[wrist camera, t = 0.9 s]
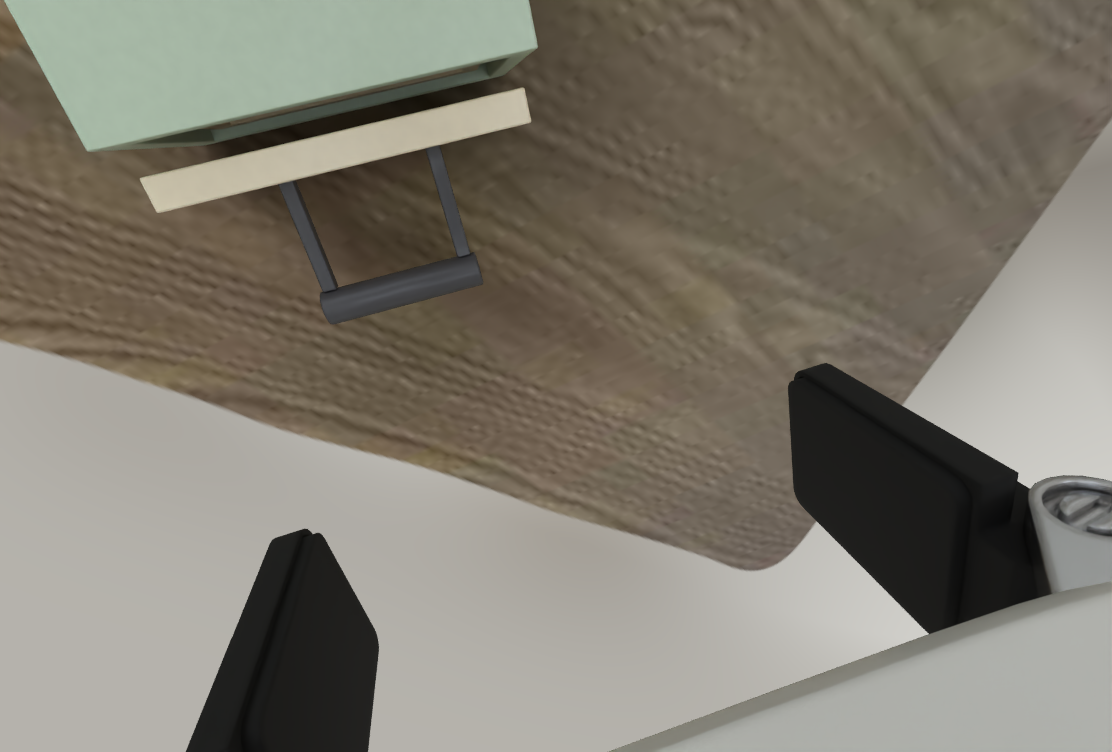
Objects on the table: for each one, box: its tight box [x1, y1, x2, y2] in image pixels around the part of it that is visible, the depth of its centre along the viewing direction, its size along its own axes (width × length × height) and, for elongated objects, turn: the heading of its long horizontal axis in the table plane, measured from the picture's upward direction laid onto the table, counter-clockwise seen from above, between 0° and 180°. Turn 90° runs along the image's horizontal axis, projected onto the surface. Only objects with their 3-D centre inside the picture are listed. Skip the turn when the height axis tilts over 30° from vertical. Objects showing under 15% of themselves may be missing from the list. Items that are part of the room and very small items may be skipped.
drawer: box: [140, 64, 531, 324], centre depth 22 cm, size 21×14×8 cm, turn 13°
